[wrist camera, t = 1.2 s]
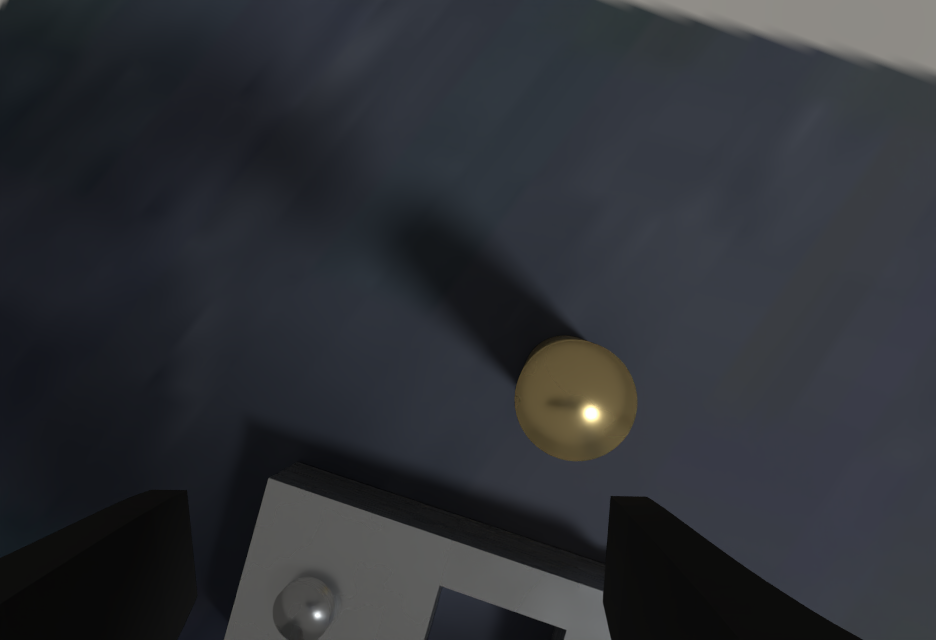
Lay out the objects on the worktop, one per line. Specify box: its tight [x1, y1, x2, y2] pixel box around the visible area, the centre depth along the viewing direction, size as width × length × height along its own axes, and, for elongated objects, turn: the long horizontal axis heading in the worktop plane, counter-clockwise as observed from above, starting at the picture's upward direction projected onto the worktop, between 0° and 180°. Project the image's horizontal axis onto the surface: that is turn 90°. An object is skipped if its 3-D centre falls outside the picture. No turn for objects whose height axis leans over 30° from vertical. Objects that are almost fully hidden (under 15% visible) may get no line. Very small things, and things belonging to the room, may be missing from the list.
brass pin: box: [515, 335, 637, 461], centre depth 18 cm, size 3×3×7 cm
